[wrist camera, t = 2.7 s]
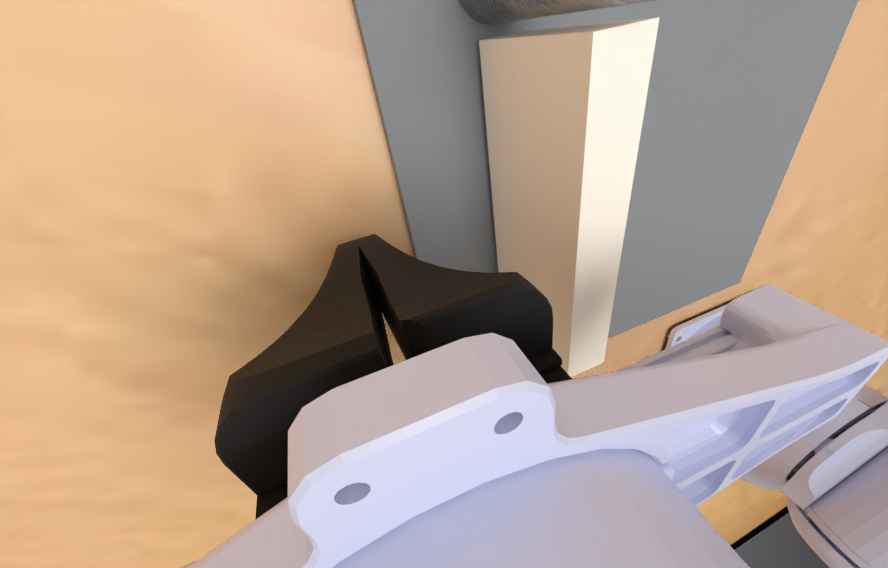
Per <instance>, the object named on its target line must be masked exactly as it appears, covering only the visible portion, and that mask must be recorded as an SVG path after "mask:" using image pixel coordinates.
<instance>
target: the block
mask: <svg viewBox="0 0 888 568" xmlns="http://www.w3.org/2000/svg"><path fill="white" fill-rule="evenodd" d="M659 18H660V17H656V18H646V19H636V20H626V21H616V22H606V23H596V24H586V25H576V26H566V27H556V28H546V29H536V30H526V31H520V32H516V33H511V34H506V35H502V36H497V37H492V38H488V39H483V40H479V47H480V59H481V71H482V83H483V95H484V106H485V118H486V130H487V142H488V154H489V166H490V178H491V190H492V202H493V213H494V225H495V237H496V249H497V261H498V272H518V273H519V274H520V275H521V276H523V277H524V278H525V279H527V280H528V281H529V282H530V283H532V284H533V285H534V286H535V287H536V288H537V289H538V290H539V291H540V292H541V293H542V294H543V295H544V296H545V297H546V298H547V299H548V301H549V303H550V305H551V306H552V311H553V345H552V348H553V349H554V350H555V351H556V352H557V354H558V355H559V356H560V357H561V359H562V365H561V367H562V368H563V369H564V370H565V371H566V372H567V374H568V375H569V376H570V377H572V376H575V375H577V374H579V373H581V372H584V371H586V370H588V369H591V368H593V367H595V366H597V365H600V364H602V363H604V358H605V351H606V345H607V339H608V333H609V327H610V320H611V314H612V308H613V302H614V296H615V290H616V283H617V277H618V271H619V265H620V259H621V253H622V246H623V240H624V234H625V228H626V222H627V216H628V209H629V203H630V197H631V191H632V185H633V179H634V172H635V166H636V160H637V154H638V148H639V142H640V135H641V129H642V123H643V117H644V111H645V105H646V98H647V92H648V86H649V80H650V74H651V67H652V61H653V55H654V49H655V43H656V37H657V30H658V24H659Z"/></svg>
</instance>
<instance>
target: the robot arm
mask: <svg viewBox="0 0 888 568" xmlns="http://www.w3.org/2000/svg"><path fill="white" fill-rule="evenodd" d="M382 313H383V315H384V317H385V319H386V321H387V323H388V325H389V327H390V329H391V331H392V333H393V335H394V337H395V339H396V341H397V343H398V345H399V347H400V349H401V351H402V353H403V355H404V357H405V359H406V360H405V361H403V362H400V363H398V364H395V365H393V361H392V357H391V352H390V348H389V343H388V338H387V334H386V329H385V325H384V320H383V316H382ZM552 345H553V311H552V306H551V305H550V303H549V301H548V299H547V298H546V297H545V296H544V295H543V294H542V293H541V292H540V291H539V290H538V289H537V288H536V287H535V286H534V285H533V284H532V283H530V282H529V281H528V280H527V279H525V278H524V277H523V276H521V275H520V274H519V273H518V272H495V273H485V272H470V271H461V270H455V269H450V268H445V267H440V266H437V265H433V264H430V263H427V262H424V261H421V260H418V259H416V258H414V257H411V256H409V255H407V254H405V253H403V252H402V251H400V250H398V249H396V248H395V247H393V246H391V245H390V244H388V243H387V242H385V241H384V240H383V239H381V238H380V237H379V236H377V235H375V234H373V235H370V236H366V237H363V238H360V239H357V240H353V241H350V242H347V243H344V244H341V245H338V247H337V248H336V251H335V255H334V258H333V261H332V263H331V266H330V268H329V271H328V273H327V275H326V278H325V280H324V282H323V284H322V285H321V287H320V289H319V291H318V293H317V295H316V296H315V298H314V299H313V301H312V302H311V303H310V305H309V306H308V307H307V309H306V310H305V311H304V312H303V314H302V315H301V316H300V317H299V318H298V319H297V320H296V321H295V322H294V324H293V325H292V326H291V327H290V328H289V329H288V330H287V331H286V332H285V333H284V334H283V335H282V336H281V337H280V338H279V339H277V340H276V341H275V342H274V343H273V344H272V345H271V346H269V347H268V348H267V349H266V350H265V351H263V352H262V353H261V354H260V355H258V356H257V357H255V358H254V359H253V360H251V361H250V362H249V363H247V364H246V365H245V366H243V367H242V368H240V369H239V370H238V371H236V372H235V373H233V374H232V375H230V376H229V380H228V383H227V386H226V390H225V393H224V396H223V401H222V405H221V410H220V415H219V420H218V426H217V431H216V436H215V447H216V453H217V455H218V456H219V458H220V459H221V461H222V462H223V463H224V465H225V466H226V467H227V468H228V469H230V470H231V471H232V472H233V473H234V474H235V475H236V476H237V477H238V478H239V479H240V480H241V481H242V482H244V483H245V484H246V485H247V486H248V487H249V488H250V489H251V490H252V491H253V492H254V493H255V494H256V495H257V507H256V520H254V521H253V522H251V523H250V524H249V525H247V526H246V527H244V528H243V529H241V530H240V531H239V532H237V533H236V534H234V535H233V536H231V537H230V538H229V539H227V540H226V541H224V542H223V543H221V544H220V545H219V546H217V547H216V548H214V549H213V550H211V551H210V552H209V553H207V554H206V555H204V556H203V557H202V558H200V559H198V560H196V561H194V562H192V563H189V564H187V565H185V566H183V567H180V568H749V567H748V565H747V564H746V563H745V562H744V561H743V560H742V559H741V558H740V556H739V555H738V554H737V553H736V552H735V551H734V550H733V549H732V547H731V546H730V545H729V544H728V543H727V542H726V541H725V540H724V539H723V537H722V536H721V535H720V534H719V533H718V532H717V531H716V530H715V528H714V527H713V526H712V525H711V524H710V523H709V522H708V521H707V519H706V518H705V517H704V516H703V515H702V514H701V513H700V512H699V511H698V509H697V508H696V507H697V506H699V505H700V504H702V503H703V502H705V501H706V500H708V499H709V498H711V497H712V496H714V495H715V494H716V493H718V492H719V491H721V490H722V489H724V488H725V487H727V486H728V485H730V484H731V483H733V482H734V481H736V480H737V479H739V478H740V479H742V480H744V481H746V482H748V483H751V484H753V485H756V486H758V487H762V488H767V489H780V490H781V491H782V492H783V493H784V494H785V495H787V496H788V497H789V499H788V501H787V507H788V510H789V512H790V515H791V519H792V522H793V524H794V526H795V527H796V529H797V530H798V532H799V533H800V535H801V536H802V537H803V538H804V540H805V541H806V542H807V544H808V545H809V546H810V547H811V548H812V549H813V550H814V552H816V554H817V555H818V556H819V557H820V558H821V559H822V560H823V561H824V562H825V563H826V564H827V565H828V566H829V567H830V568H888V398H887V397H885V396H884V395H882V394H880V393H878V392H877V391H875V390H873V389H872V388H870V387H868V386H866V385H865V383H866V382H867V381H868V380H869V379H870V378H871V377H872V375H873V374H874V373H875V372H876V371H877V370H878V368H879V367H880V366H881V365H882V364H883V363H884V362H885V360H886V359H887V358H888V341H886V340H884V339H882V338H880V337H878V336H876V335H874V334H872V333H870V332H868V331H866V330H863V329H861V328H859V327H857V326H855V325H853V324H851V323H849V322H847V321H845V320H843V319H841V318H839V317H836V316H834V315H832V314H830V313H828V312H826V311H824V310H822V309H820V308H818V307H816V306H814V305H812V304H809V303H807V302H805V301H803V300H801V299H799V298H797V297H795V296H793V295H791V294H789V293H787V292H785V291H782V290H780V289H778V288H776V287H774V286H772V285H770V284H769V285H764V286H762V287H759V288H757V289H755V290H753V291H750V292H748V293H746V294H743V295H741V296H739V297H737V298H735V299H734V300H732V301H731V302H730V303H728V304H726V305H724V306H721V307H719V308H717V309H715V310H712V311H710V312H708V313H705V314H703V315H701V316H698V317H696V318H694V319H692V320H689V321H687V322H685V323H682V324H680V325H678V326H676V327H674V328H673V329H672V330H671V332H670V335H669V338H668V341H667V345H666V348H665V350H663V351H661V352H659V353H656V354H654V355H652V356H650V357H647V358H645V359H643V360H641V361H639V362H636V363H634V364H632V365H630V366H627V367H625V368H623V369H621V370H619V371H616V372H611V373H605V374H599V375H594V376H588V377H582V378H577V379H572V378H571V377H570V376H569V375H568V374H567V372H566V371H565V370H564V369H563V368H562V367H561V365H562V359H561V357H560V356H559V355H558V354H557V352H556V351H555V350H554V349H553V348H552Z"/></svg>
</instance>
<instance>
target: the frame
mask: <svg viewBox="0 0 888 568" xmlns="http://www.w3.org/2000/svg"><path fill="white" fill-rule="evenodd" d="M458 1H459V3H460V5H461V6H462V8H463V9H464V11H465V12H466V13H467V14H468V15H469V16H470V17H471V18H472V19H474V20H475V21H477V22H479V23H482V24H488V25H491V24H499V23H506V22H512V21H519V20H526V19H533V18H540V17H546V16H553V15H560V14H567V13H574V12H581V11H587V10H594V9H601V8H608V7H615V6H621V5H628V4H635V3H642V2H649V1H656V0H458Z"/></svg>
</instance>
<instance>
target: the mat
mask: <svg viewBox="0 0 888 568" xmlns="http://www.w3.org/2000/svg"><path fill="white" fill-rule="evenodd" d="M352 1H353V5H354V9H355V13H356V17H357V21H358V25H359V29H360V33H361V37H362V41H363V45H364V49H365V53H366V57H367V61H368V65H369V70H370V74H371V78H372V82H373V86H374V90H375V94H376V98H377V102H378V106H379V110H380V114H381V118H382V122H383V126H384V130H385V134H386V139H387V143H388V147H389V151H390V155H391V159H392V163H393V167H394V171H395V175H396V179H397V183H398V187H399V191H400V195H401V199H402V203H403V208H404V212H405V216H406V220H407V224H408V228H409V232H410V236H411V240H412V244H413V248H414V252H415V256H416V259H418V260H421V261H424V262H427V263H430V264H433V265H437V266H440V267H445V268H450V269H455V270H461V271H470V272H485V273H495V272H498V261H497V249H496V237H495V225H494V213H493V202H492V190H491V178H490V166H489V154H488V142H487V130H486V118H485V106H484V95H483V83H482V71H481V59H480V47H479V40H483V39H488V38H492V37H497V36H502V35H506V34H511V33H516V32H520V31H526V30H536V29H546V28H556V27H566V26H576V25H586V24H596V23H606V22H616V21H626V20H636V19H646V18H656V17H660V18H659V24H658V30H657V37H656V43H655V49H654V55H653V61H652V67H651V74H650V80H649V86H648V92H647V98H646V105H645V111H644V117H643V123H642V129H641V135H640V142H639V148H638V154H637V160H636V166H635V172H634V179H633V185H632V191H631V197H630V203H629V209H628V216H627V222H626V228H625V234H624V240H623V246H622V253H621V259H620V265H619V271H618V277H617V283H616V290H615V296H614V302H613V308H612V314H611V320H610V327H609V333H608V338H610V337H612V336H615V335H617V334H620V333H622V332H624V331H627V330H629V329H631V328H634V327H636V326H638V325H641V324H643V323H645V322H648V321H650V320H653V319H655V318H657V317H660V316H662V315H664V314H667V313H669V312H671V311H674V310H676V309H678V308H681V307H683V306H686V305H688V304H690V303H693V302H695V301H697V300H700V299H702V298H704V297H707V296H709V295H711V294H714V293H716V292H719V291H721V290H723V289H726V288H728V287H730V286H733V285H735V284H737V283H740V281H741V278H742V276H743V274H744V271H745V269H746V266H747V264H748V262H749V259H750V257H751V254H752V252H753V250H754V247H755V245H756V243H757V240H758V238H759V235H760V233H761V231H762V228H763V226H764V224H765V221H766V219H767V216H768V214H769V212H770V209H771V207H772V205H773V202H774V200H775V197H776V195H777V193H778V190H779V188H780V185H781V183H782V181H783V178H784V176H785V174H786V171H787V169H788V166H789V164H790V162H791V159H792V157H793V155H794V152H795V150H796V147H797V145H798V143H799V140H800V138H801V136H802V133H803V131H804V128H805V126H806V124H807V121H808V119H809V116H810V114H811V112H812V109H813V107H814V105H815V102H816V100H817V97H818V95H819V93H820V90H821V88H822V86H823V83H824V81H825V78H826V76H827V74H828V71H829V69H830V67H831V64H832V62H833V59H834V57H835V55H836V52H837V50H838V47H839V45H840V43H841V40H842V38H843V36H844V33H845V31H846V28H847V26H848V24H849V21H850V19H851V17H852V14H853V12H854V9H855V7H856V5H857V2H858V0H656V1H649V2H642V3H635V4H628V5H621V6H615V7H608V8H601V9H594V10H587V11H581V12H574V13H567V14H560V15H553V16H546V17H540V18H533V19H526V20H519V21H512V22H506V23H499V24H491V25H488V24H482V23H479V22H477V21H475V20H474V19H472V18H471V17H470V16H469V15H468V14H467V13H466V12H465V11H464V9H463V8H462V6H461V5H460V3H459V1H458V0H352Z"/></svg>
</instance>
